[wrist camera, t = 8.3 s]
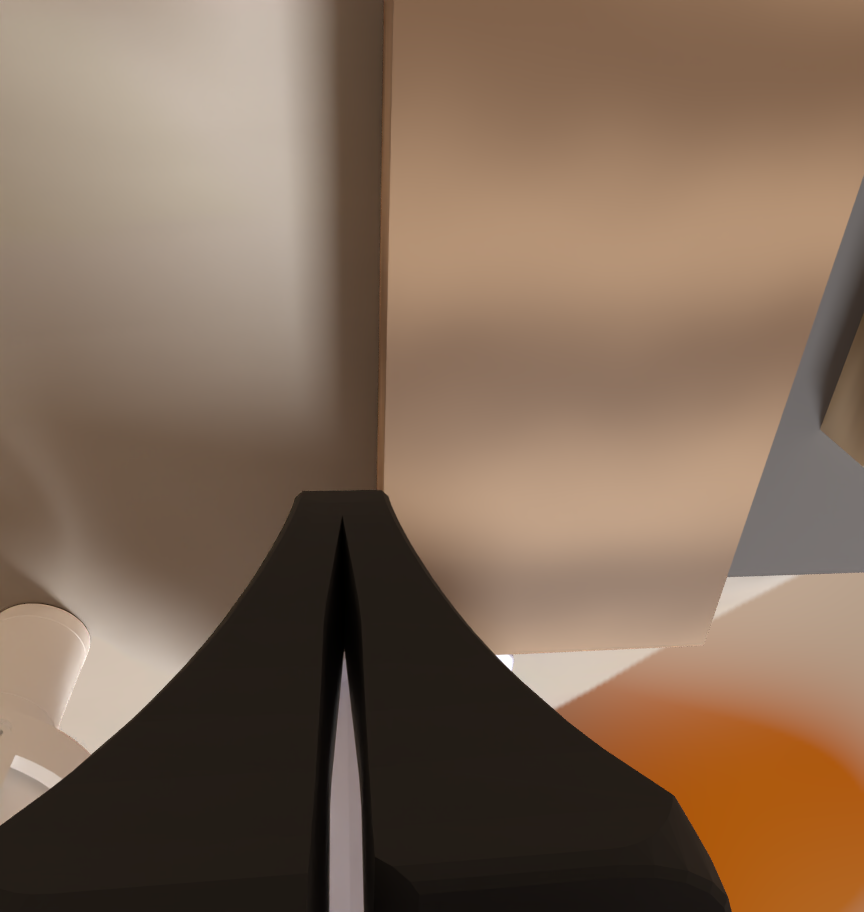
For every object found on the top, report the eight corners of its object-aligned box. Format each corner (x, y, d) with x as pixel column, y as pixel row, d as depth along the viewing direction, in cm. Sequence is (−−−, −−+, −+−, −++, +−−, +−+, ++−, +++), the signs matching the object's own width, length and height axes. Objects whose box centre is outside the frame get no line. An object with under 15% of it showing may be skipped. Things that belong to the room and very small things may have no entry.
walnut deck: (660, 571, 25) (703, 645, 22) (375, 581, 24) (380, 660, 21) (834, -54, 16) (946, -70, 13) (384, -89, 15) (396, -115, 12)
